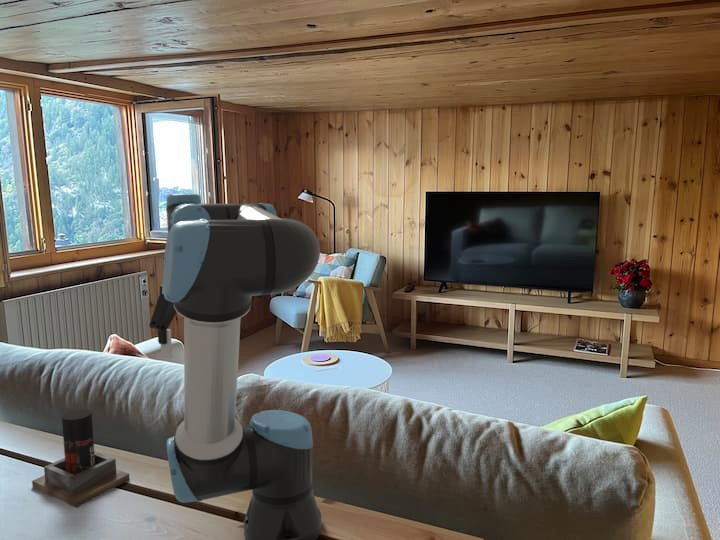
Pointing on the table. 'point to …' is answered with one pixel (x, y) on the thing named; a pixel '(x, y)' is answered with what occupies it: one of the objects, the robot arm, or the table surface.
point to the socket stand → (80, 480)
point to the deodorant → (78, 440)
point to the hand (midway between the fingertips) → (189, 349)
